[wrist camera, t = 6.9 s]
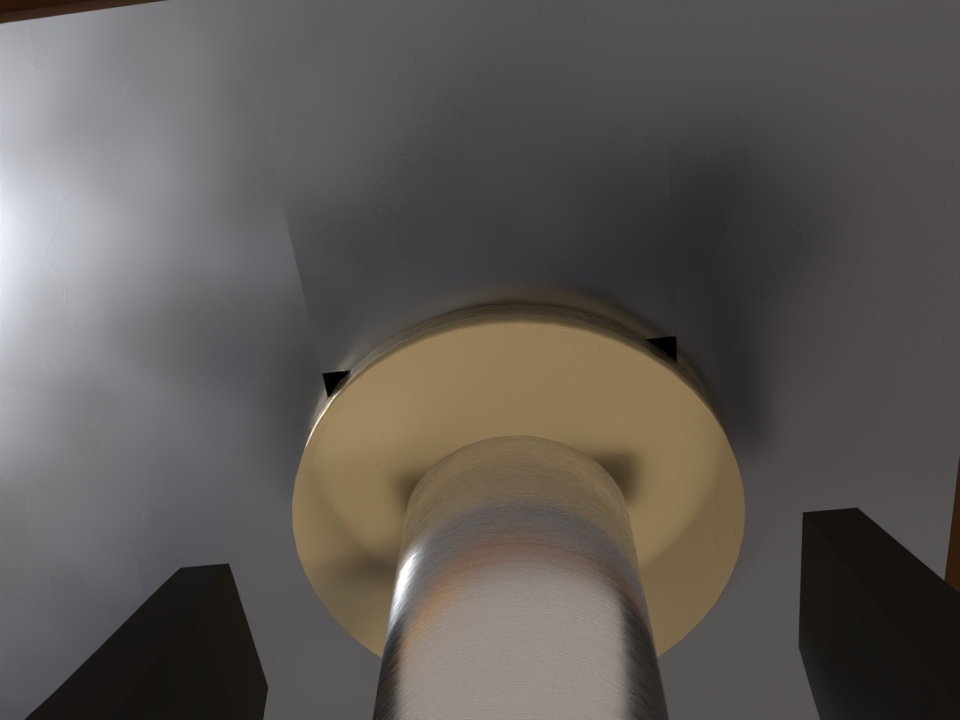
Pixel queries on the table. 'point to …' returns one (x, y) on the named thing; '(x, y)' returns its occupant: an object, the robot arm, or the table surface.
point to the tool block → (458, 282)
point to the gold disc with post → (518, 515)
